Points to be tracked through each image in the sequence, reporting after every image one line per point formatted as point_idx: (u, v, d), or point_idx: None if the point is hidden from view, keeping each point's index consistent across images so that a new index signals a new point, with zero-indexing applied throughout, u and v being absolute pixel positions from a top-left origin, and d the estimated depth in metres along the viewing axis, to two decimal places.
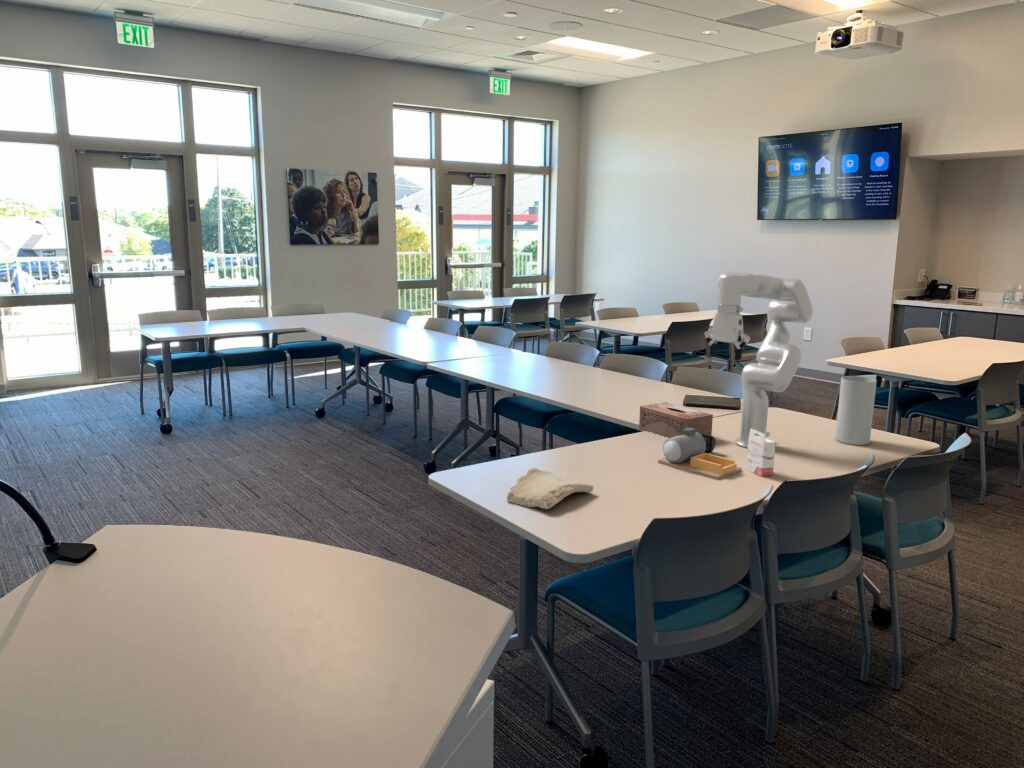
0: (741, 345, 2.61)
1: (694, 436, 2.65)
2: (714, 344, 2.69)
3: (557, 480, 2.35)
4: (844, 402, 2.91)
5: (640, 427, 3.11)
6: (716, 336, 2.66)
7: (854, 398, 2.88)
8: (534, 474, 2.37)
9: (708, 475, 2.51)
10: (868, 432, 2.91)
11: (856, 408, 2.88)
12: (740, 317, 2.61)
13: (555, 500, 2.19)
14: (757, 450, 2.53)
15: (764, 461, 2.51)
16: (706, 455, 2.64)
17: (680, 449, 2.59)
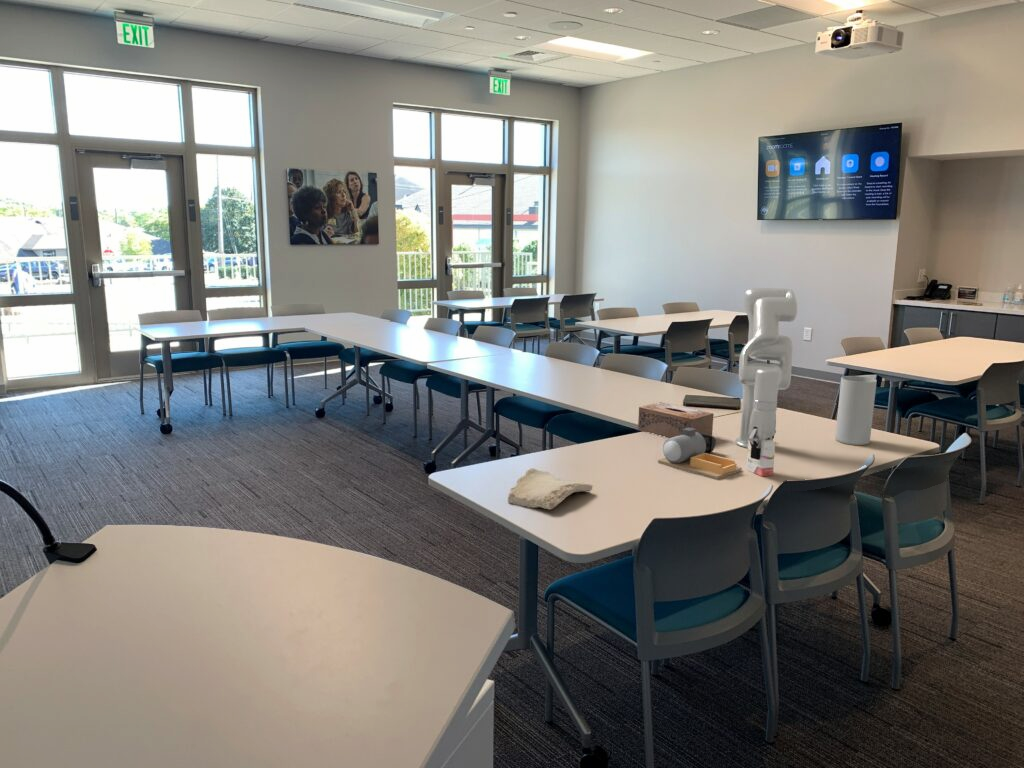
0: (772, 440, 2.58)
1: (694, 436, 2.65)
2: None
3: (556, 480, 2.35)
4: (844, 402, 2.91)
5: (639, 428, 3.09)
6: None
7: (854, 398, 2.88)
8: (533, 474, 2.37)
9: (708, 475, 2.51)
10: (868, 432, 2.91)
11: (856, 408, 2.88)
12: None
13: (557, 500, 2.19)
14: None
15: (764, 461, 2.51)
16: (706, 455, 2.64)
17: (680, 449, 2.59)
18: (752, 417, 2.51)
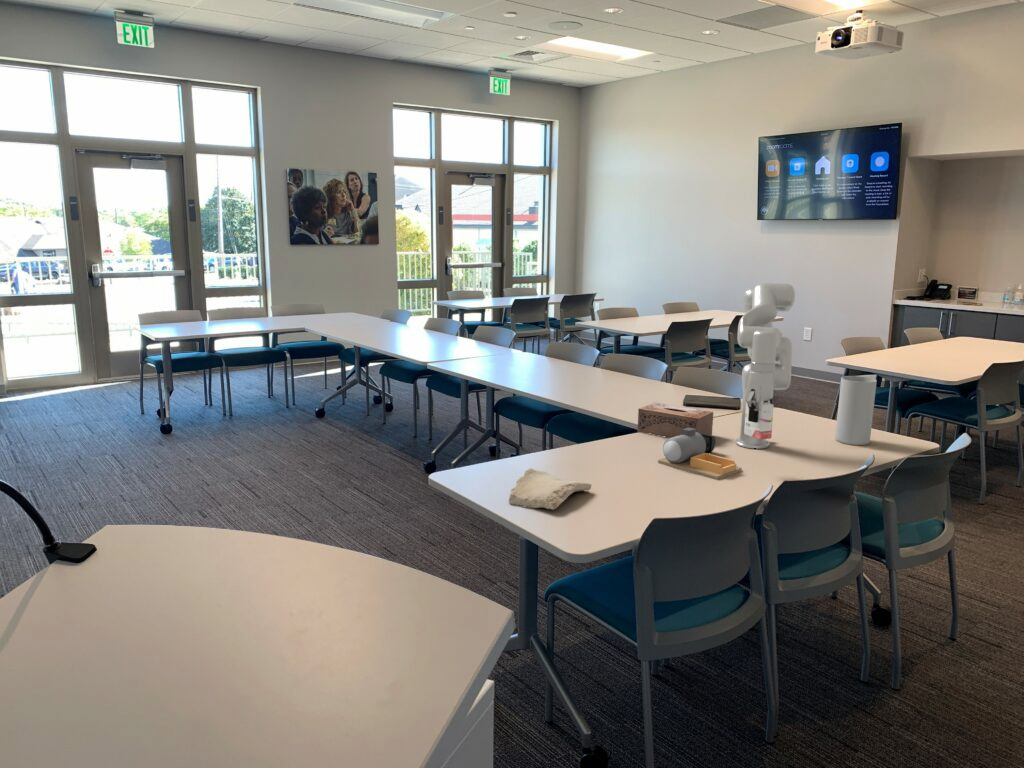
0: None
1: (694, 436, 2.65)
2: None
3: (555, 480, 2.35)
4: (844, 402, 2.91)
5: (639, 430, 3.07)
6: None
7: (854, 398, 2.88)
8: (531, 474, 2.37)
9: (708, 475, 2.51)
10: (868, 432, 2.91)
11: (856, 408, 2.88)
12: None
13: (560, 500, 2.19)
14: None
15: (762, 424, 2.49)
16: (706, 455, 2.64)
17: (680, 449, 2.59)
18: (750, 379, 2.49)
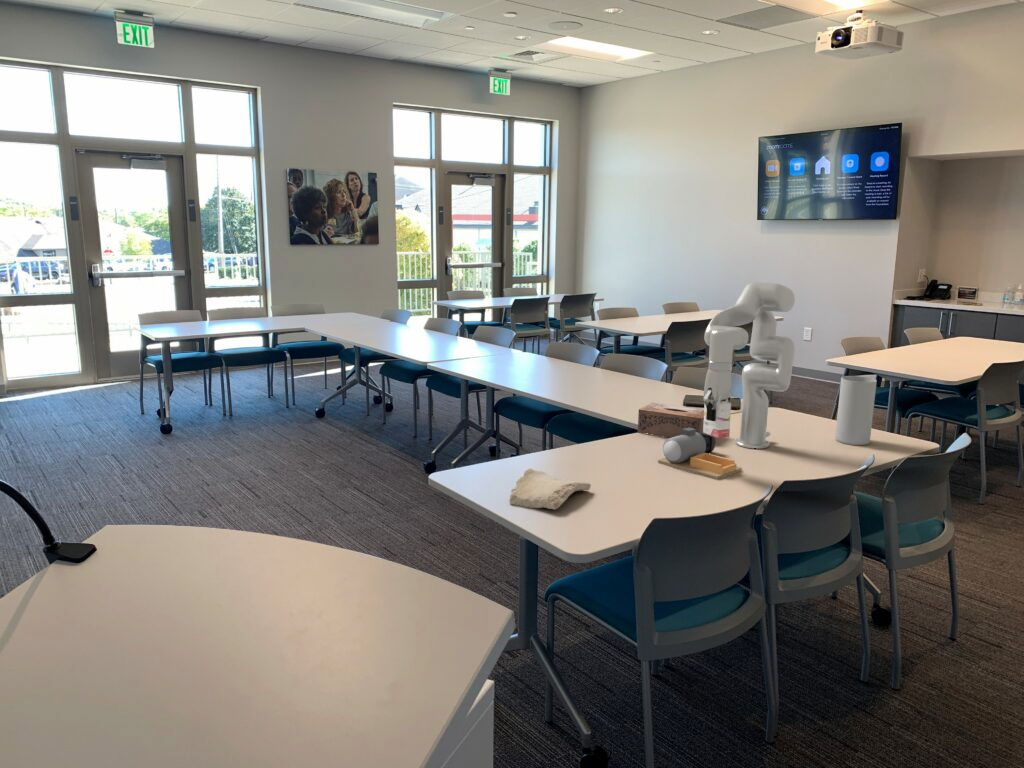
0: (728, 402, 2.57)
1: (694, 436, 2.65)
2: None
3: (555, 480, 2.35)
4: (844, 402, 2.91)
5: (639, 430, 3.05)
6: None
7: (854, 398, 2.88)
8: (531, 475, 2.36)
9: (708, 475, 2.51)
10: (868, 432, 2.91)
11: (856, 408, 2.88)
12: None
13: (561, 500, 2.19)
14: None
15: (720, 422, 2.50)
16: (706, 455, 2.64)
17: (680, 449, 2.59)
18: (707, 378, 2.50)
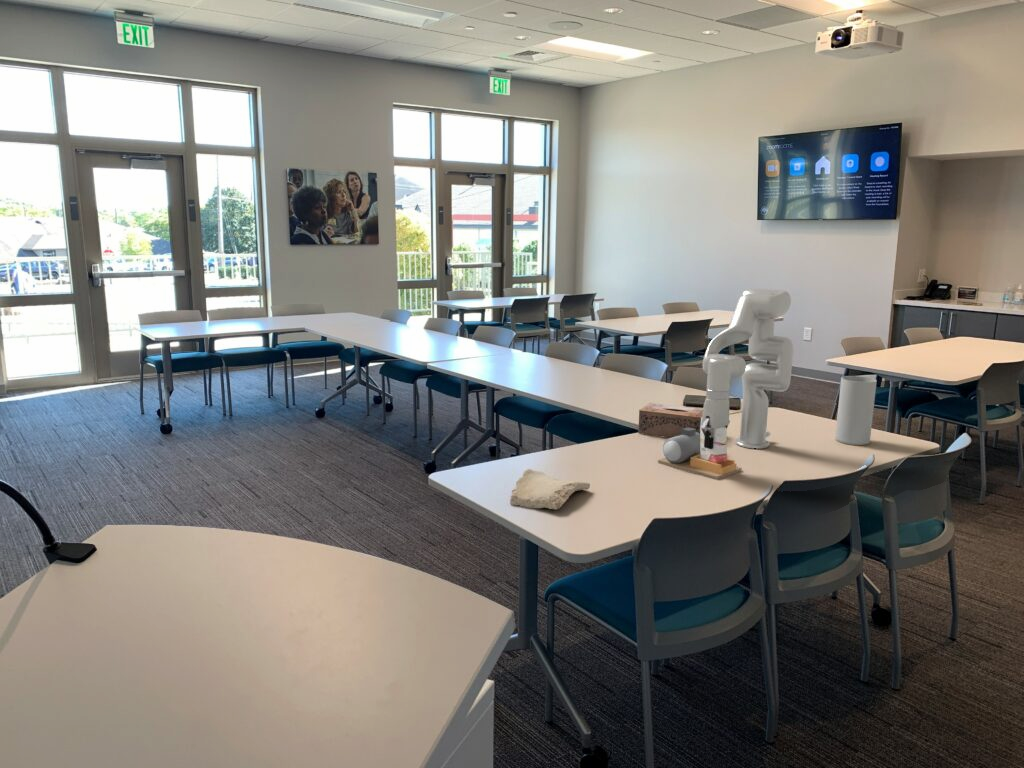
0: None
1: (694, 436, 2.65)
2: None
3: (554, 480, 2.35)
4: (844, 402, 2.91)
5: (640, 431, 3.04)
6: (716, 424, 2.52)
7: (854, 398, 2.88)
8: (530, 475, 2.36)
9: (708, 475, 2.51)
10: (868, 432, 2.91)
11: (856, 408, 2.88)
12: None
13: (562, 500, 2.19)
14: None
15: (717, 447, 2.52)
16: None
17: (680, 449, 2.59)
18: (705, 406, 2.52)
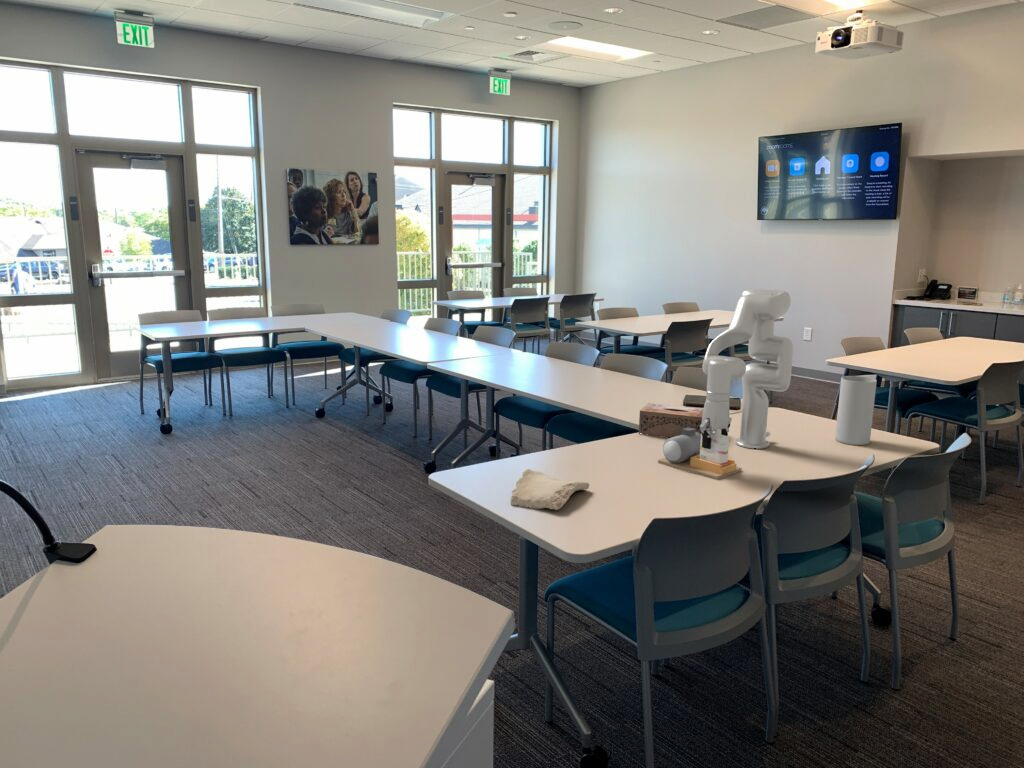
0: (727, 427, 2.59)
1: (694, 436, 2.65)
2: None
3: (554, 480, 2.35)
4: (844, 402, 2.91)
5: (640, 432, 3.03)
6: (716, 426, 2.52)
7: (854, 398, 2.88)
8: (529, 475, 2.36)
9: (708, 475, 2.51)
10: (868, 432, 2.91)
11: (856, 408, 2.88)
12: None
13: (563, 500, 2.19)
14: (712, 446, 2.54)
15: (720, 456, 2.53)
16: None
17: (680, 449, 2.59)
18: (705, 408, 2.52)
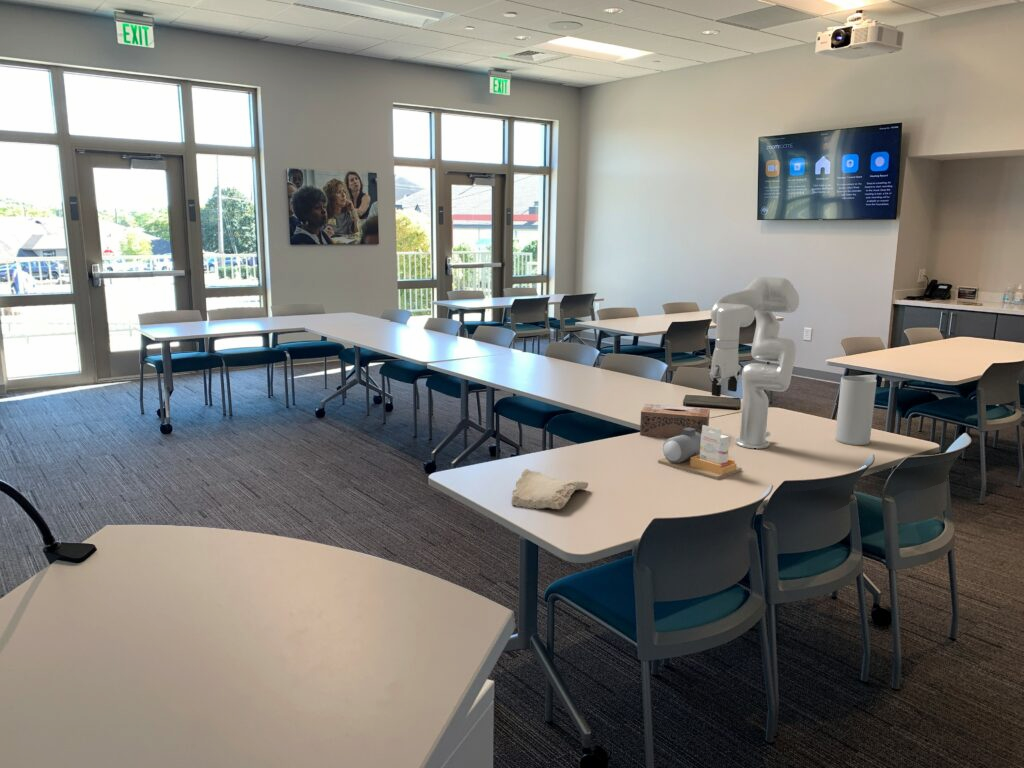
0: (737, 375, 2.60)
1: (694, 436, 2.65)
2: None
3: (553, 479, 2.35)
4: (844, 402, 2.91)
5: (642, 433, 3.02)
6: (726, 373, 2.52)
7: (854, 398, 2.88)
8: (528, 475, 2.36)
9: (708, 475, 2.51)
10: (868, 432, 2.91)
11: (856, 408, 2.88)
12: None
13: (565, 499, 2.19)
14: (712, 446, 2.54)
15: (720, 456, 2.53)
16: None
17: (680, 449, 2.59)
18: (714, 356, 2.53)
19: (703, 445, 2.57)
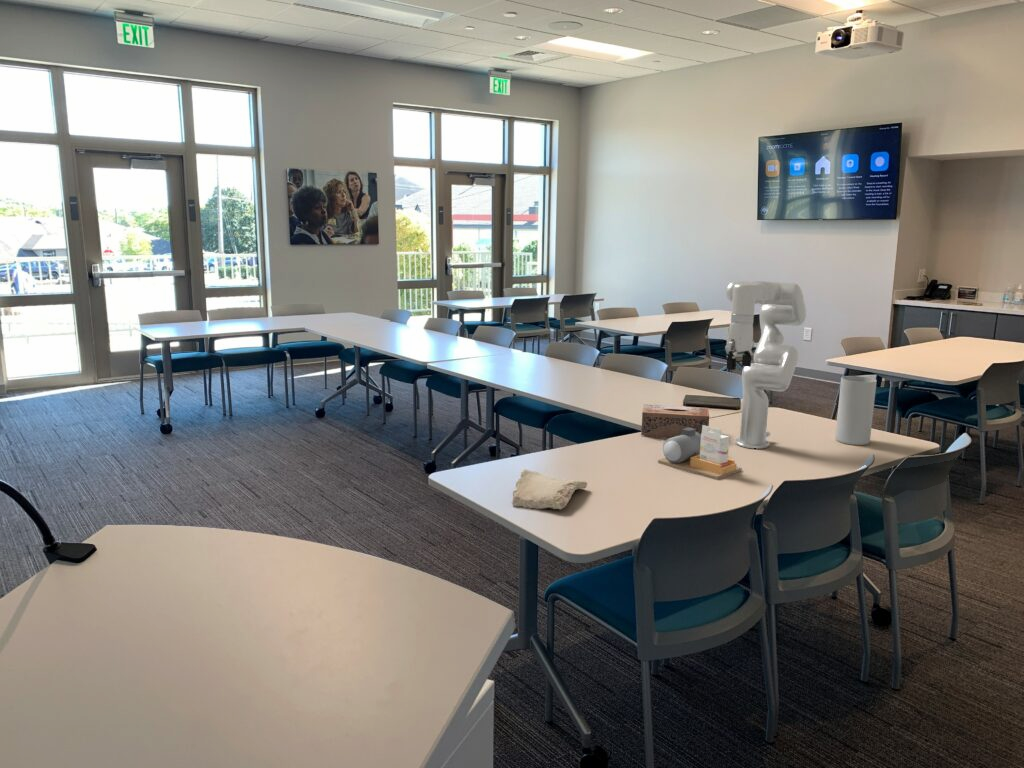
0: None
1: (694, 436, 2.65)
2: None
3: (552, 479, 2.35)
4: (844, 402, 2.91)
5: (643, 434, 3.01)
6: (741, 347, 2.61)
7: (854, 398, 2.88)
8: (527, 475, 2.36)
9: (708, 475, 2.51)
10: (868, 432, 2.91)
11: (856, 408, 2.88)
12: None
13: (566, 499, 2.19)
14: (712, 446, 2.54)
15: (720, 456, 2.53)
16: None
17: (680, 449, 2.59)
18: (730, 330, 2.61)
19: (703, 445, 2.57)
